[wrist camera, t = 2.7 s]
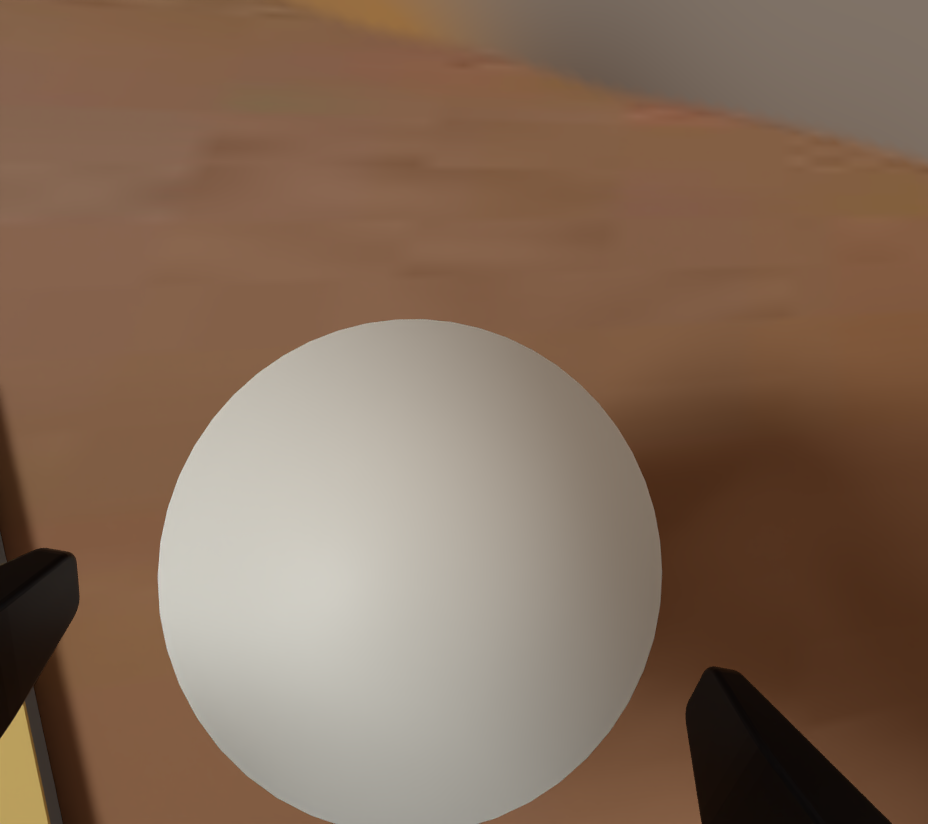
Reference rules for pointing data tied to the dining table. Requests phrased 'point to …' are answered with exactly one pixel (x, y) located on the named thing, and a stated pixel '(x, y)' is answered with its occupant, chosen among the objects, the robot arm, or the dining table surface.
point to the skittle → (409, 575)
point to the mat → (26, 767)
